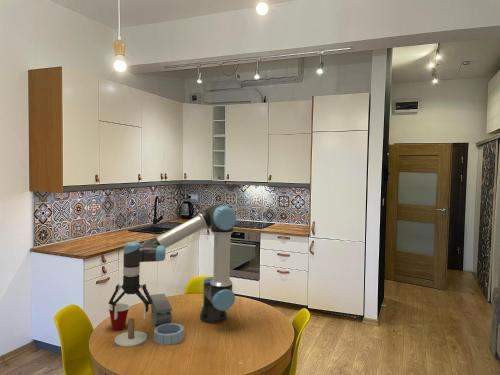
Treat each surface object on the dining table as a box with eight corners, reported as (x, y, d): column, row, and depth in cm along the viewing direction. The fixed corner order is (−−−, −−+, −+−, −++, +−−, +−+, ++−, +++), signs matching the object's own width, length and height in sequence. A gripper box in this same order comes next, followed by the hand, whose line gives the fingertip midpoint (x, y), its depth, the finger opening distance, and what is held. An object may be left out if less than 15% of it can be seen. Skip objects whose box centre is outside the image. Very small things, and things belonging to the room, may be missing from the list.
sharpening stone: (171, 328, 193) (172, 308, 192) (156, 331, 190) (156, 310, 189) (164, 311, 216) (164, 293, 215) (150, 313, 213) (150, 295, 212)
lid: (149, 332, 187) (149, 313, 186) (144, 346, 172) (144, 325, 172) (118, 333, 185) (119, 313, 185) (111, 347, 170) (111, 326, 170)
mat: (148, 333, 186) (148, 332, 186) (143, 346, 172) (143, 345, 172) (119, 334, 185) (119, 333, 185) (112, 347, 171) (112, 346, 171)
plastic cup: (128, 332, 187) (128, 309, 187) (105, 333, 185) (105, 310, 185) (131, 323, 198) (131, 301, 197) (110, 324, 196) (110, 302, 196)
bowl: (184, 332, 188) (184, 322, 188) (182, 345, 174) (182, 334, 174) (156, 333, 187) (156, 323, 187) (152, 346, 173) (152, 335, 173)
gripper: (158, 272, 182) (157, 315, 183) (106, 272, 180) (105, 315, 180) (156, 276, 175) (155, 321, 176) (102, 276, 172) (101, 321, 173)
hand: (130, 318), depth 178 cm, fingers open, 13 cm apart
